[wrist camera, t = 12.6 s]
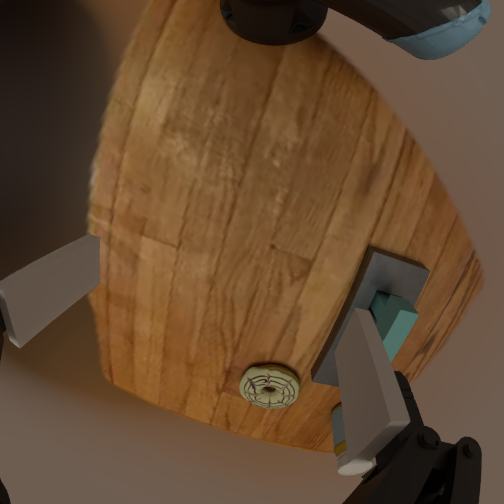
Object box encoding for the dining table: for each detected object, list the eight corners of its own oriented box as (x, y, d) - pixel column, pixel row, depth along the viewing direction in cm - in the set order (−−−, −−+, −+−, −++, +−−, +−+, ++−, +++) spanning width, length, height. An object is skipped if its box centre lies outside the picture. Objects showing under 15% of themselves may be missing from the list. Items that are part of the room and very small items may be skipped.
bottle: (370, 404, 47) (382, 462, 33) (347, 422, 49) (354, 478, 35) (347, 394, 46) (356, 456, 32) (324, 413, 49) (327, 472, 34)
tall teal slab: (378, 276, 38) (400, 309, 29) (394, 281, 38) (419, 314, 29) (338, 358, 44) (345, 399, 34) (353, 361, 44) (362, 402, 34)
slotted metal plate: (368, 245, 37) (374, 251, 34) (422, 264, 37) (430, 271, 34) (311, 370, 45) (311, 381, 42) (359, 379, 45) (362, 390, 42)
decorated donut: (240, 357, 46) (237, 371, 43) (302, 360, 45) (302, 375, 41) (242, 395, 50) (239, 409, 46) (297, 399, 48) (296, 413, 45)
